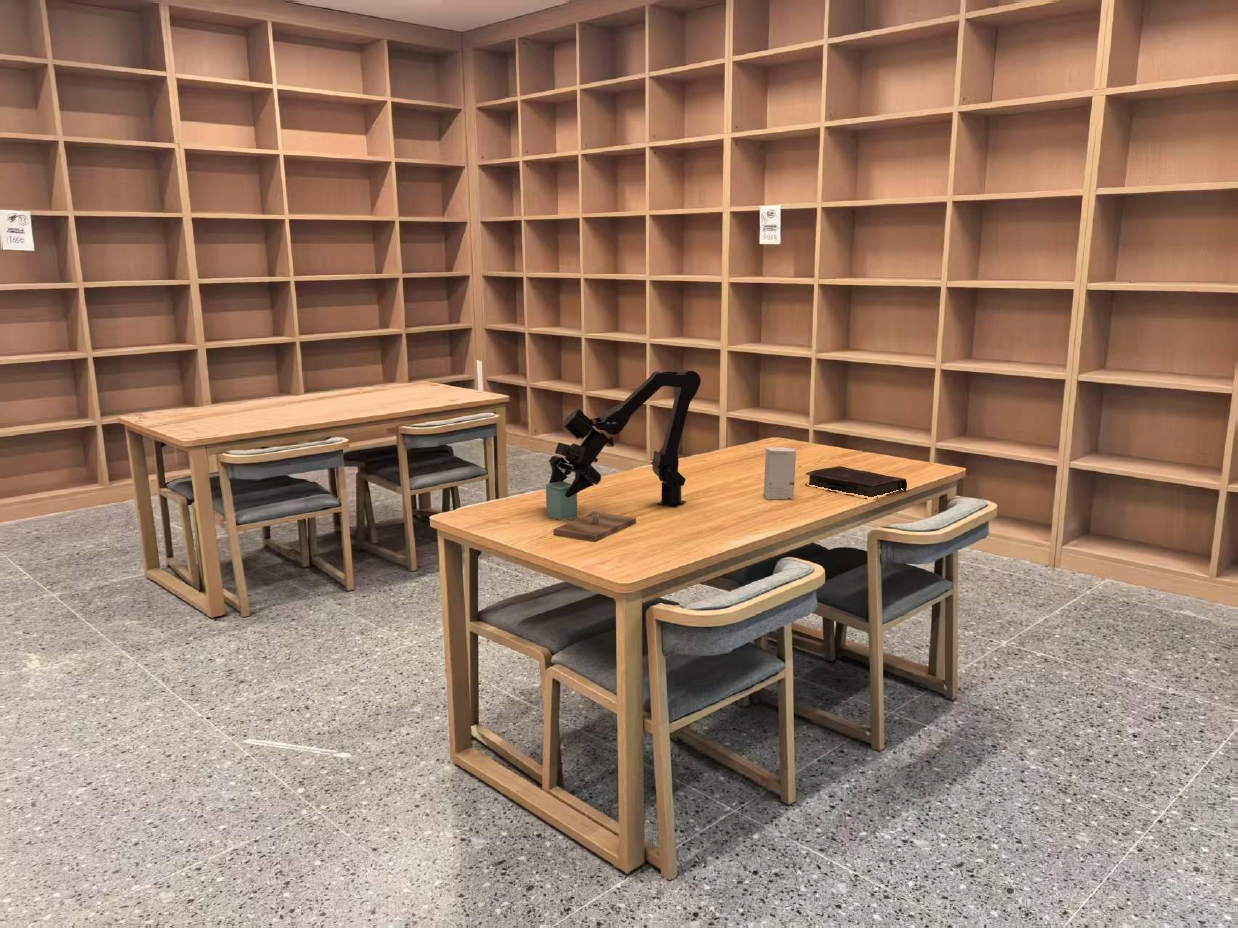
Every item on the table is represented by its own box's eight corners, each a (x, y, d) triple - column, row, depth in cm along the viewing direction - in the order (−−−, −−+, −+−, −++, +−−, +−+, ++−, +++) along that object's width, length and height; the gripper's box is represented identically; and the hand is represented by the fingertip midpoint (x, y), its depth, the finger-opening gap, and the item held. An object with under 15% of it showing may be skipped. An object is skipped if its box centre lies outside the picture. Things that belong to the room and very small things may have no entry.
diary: (840, 479, 302) (841, 464, 301) (906, 493, 283) (907, 477, 282) (802, 487, 291) (803, 471, 290) (869, 502, 271) (870, 485, 270)
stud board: (595, 517, 256) (595, 498, 255) (636, 523, 250) (635, 504, 249) (553, 534, 240) (553, 515, 238) (595, 541, 233) (595, 521, 232)
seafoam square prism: (563, 512, 262) (562, 481, 260) (577, 517, 256) (576, 485, 254) (546, 515, 258) (545, 484, 257) (560, 520, 253) (559, 488, 251)
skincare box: (766, 500, 273) (768, 450, 270) (763, 495, 279) (764, 446, 276) (795, 499, 274) (796, 450, 271) (790, 494, 280) (792, 446, 277)
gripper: (553, 427, 262) (521, 470, 258) (591, 436, 247) (557, 482, 243) (577, 451, 268) (545, 494, 264) (615, 461, 254) (583, 506, 249)
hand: (557, 493), depth 255 cm, fingers open, 9 cm apart
